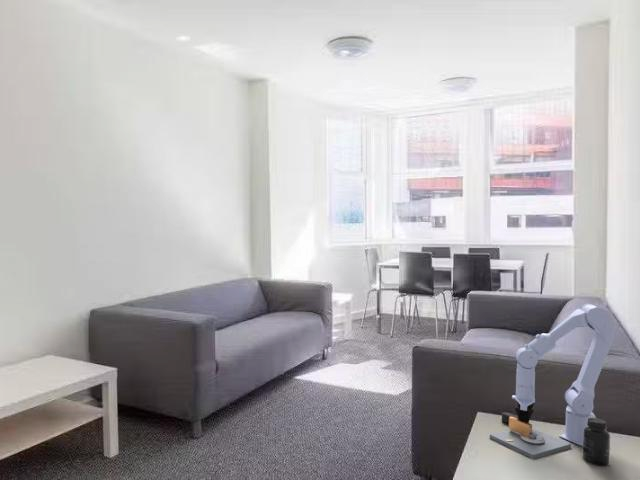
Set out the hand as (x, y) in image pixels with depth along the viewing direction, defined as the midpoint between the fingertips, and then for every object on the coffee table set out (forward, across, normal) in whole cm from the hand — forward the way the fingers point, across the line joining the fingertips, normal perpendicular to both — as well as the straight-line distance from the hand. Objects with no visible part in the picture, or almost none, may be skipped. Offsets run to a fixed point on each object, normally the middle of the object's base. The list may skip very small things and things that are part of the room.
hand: (524, 425), depth 159 cm
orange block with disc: (+1, +7, +1) cm, 7 cm away
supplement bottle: (+3, +12, +20) cm, 23 cm away
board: (+3, +8, +2) cm, 8 cm away
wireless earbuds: (+3, -7, -3) cm, 8 cm away
